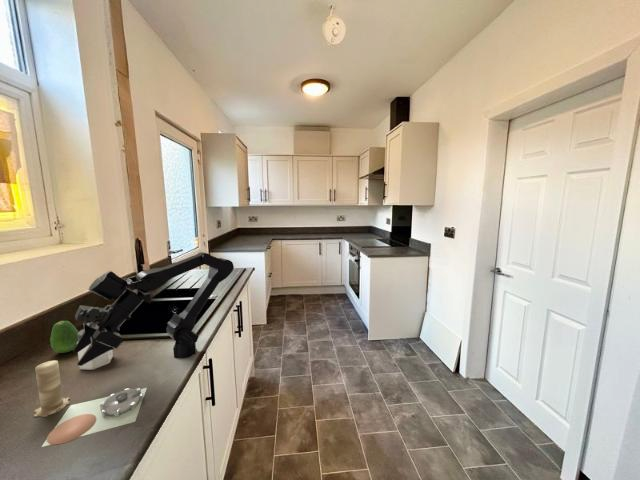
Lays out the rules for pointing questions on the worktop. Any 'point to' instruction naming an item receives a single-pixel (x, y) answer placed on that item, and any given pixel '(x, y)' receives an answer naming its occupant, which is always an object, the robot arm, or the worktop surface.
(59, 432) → the board
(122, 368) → the worktop surface
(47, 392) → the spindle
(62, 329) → the avocado
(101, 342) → the robot arm
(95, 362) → the jar
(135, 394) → the gear
